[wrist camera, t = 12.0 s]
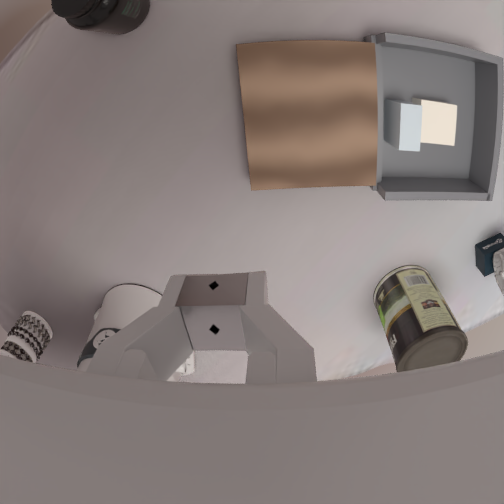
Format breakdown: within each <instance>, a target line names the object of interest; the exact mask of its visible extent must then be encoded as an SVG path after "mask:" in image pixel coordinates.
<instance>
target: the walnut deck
mask: <svg viewBox="0 0 504 504" xmlns="http://www.w3.org/2000/svg"><path fill="white" fill-rule="evenodd" d="M236 48H237V58H238V67H239V77H240V87H241V96H242V106H243V115H244V125H245V135H246V145H247V155H248V164H249V174H250V184H251V191H252V190H267V189H285V188H306V187H332V186H376V174H377V145H378V97H377V69H376V52H375V43H370V42H357V41H335V40H293V41H271V42H257V43H245V44H236Z"/></svg>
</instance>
